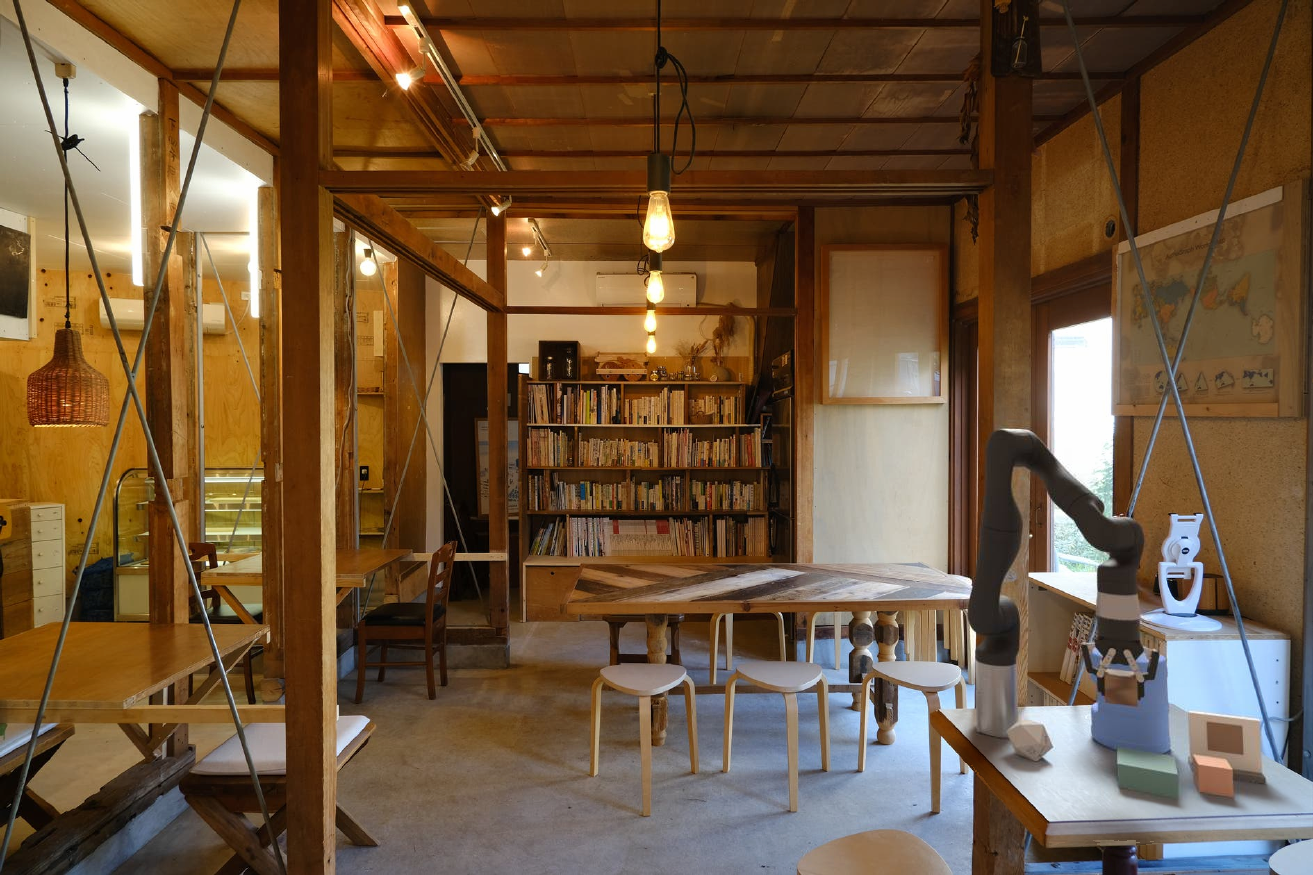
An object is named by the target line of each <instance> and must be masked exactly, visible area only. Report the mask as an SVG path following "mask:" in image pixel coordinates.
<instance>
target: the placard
mask: <svg viewBox="0 0 1313 875" xmlns="http://www.w3.org/2000/svg"><path fill="white" fill-rule="evenodd" d="M1187 712H1188V717H1187V718H1188V737H1189V738H1188V742H1189V756H1187V762H1188V764H1189V766H1190V768H1191V770H1192V771H1193V754H1194V755H1201V756H1208V757H1215V758H1222V759H1226V760H1227V762H1228V763H1229V765H1230V766H1231V768H1232V769H1233V780H1237V779H1240V780H1239V781H1244V780H1245V782H1250V781H1254V782H1253V783H1257V782H1259V783H1258V784H1264V783H1266V784H1267V779H1266V776H1265V775H1264V773H1263V764H1262V762H1263V761H1262V738H1261V736H1262V734H1261V720H1260V719H1259V718H1253V717H1244V716H1237V715H1236V716H1235V715H1230V714H1229V715H1228V714H1219V713H1212V712H1202V711H1194V710H1188V711H1187ZM1246 780H1247V781H1246Z"/></svg>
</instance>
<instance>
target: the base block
mask: <svg viewBox="0 0 1313 875" xmlns="http://www.w3.org/2000/svg"><path fill="white" fill-rule="evenodd" d="M1116 755H1117V756H1116V758H1117V759H1116V761H1117V781H1118V782H1117V785H1118V788H1123V789H1129V790H1132V791H1133V790H1134V791H1139V792H1144V793H1149V794H1154V795H1159V796H1163V797H1169V798H1175V799H1179V798H1180V797H1179V777H1178V776H1179V775H1178V770H1177V764H1176V761H1175V756H1174V755H1169V754H1166V753H1163V754H1159V753H1153V752H1147V751H1141V750H1135V749H1129V748H1123V747H1117V750H1116Z"/></svg>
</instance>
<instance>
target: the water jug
mask: <svg viewBox="0 0 1313 875" xmlns="http://www.w3.org/2000/svg"><path fill="white" fill-rule="evenodd" d="M1142 646H1143V647H1145V648H1148V649H1150V648H1149V647H1146V646H1145V645H1142ZM1159 654H1160V653H1159ZM1090 658H1091V662H1092V666H1093V667H1096V668H1098V665H1099V663H1100V661H1101V658H1102V655H1101V654H1100V652H1099V651H1098V650H1097V649H1096V648H1094V649H1093V653H1092V654H1090ZM1136 663H1137V665H1138V667H1139V669H1140V671H1141V673H1145V672H1147V668H1148V663H1149V660H1148V659H1147V658H1146V654H1145V653H1142V654H1141V655H1140V656H1139V658H1138V659H1137V660H1136ZM1167 664H1168V663H1167V658H1166V657H1165V656H1163V655H1162V654H1160V656H1159V661H1158V666H1157V671H1156V675H1155V679H1154V680H1147V681H1145V682H1144V693H1145V696H1144V698H1141V700H1138V707H1135V706H1127V705H1120V704H1112V703H1106V702H1105V697H1104V696H1102V695H1101V692H1098V690H1097V689H1096V691H1097V701H1096V702H1095V703H1093V704H1091V707H1090V715H1091V716H1090V717H1091V718H1090V719H1091V724H1090V733H1091V734H1090V735H1091V737H1092V738H1093V739H1094V740H1095V741H1096V742H1097V743H1099V744H1101V745H1102V746H1104V747H1107V748H1109V749H1113V750H1115V751H1117V747H1123V748H1129V749H1135V750H1141V751H1147V752H1153V753H1159V754H1166V753H1167V752H1168V751H1170V749H1171V737H1170V720H1169V719H1170V718H1169V714H1170V704H1169V693H1168V691H1169V689H1168V677H1169V676H1168V674H1169V672H1168V669H1169V668H1168V665H1167ZM1107 669H1114V670H1123V671H1132V672H1133V670H1132V668H1131V666H1130V665H1129V666H1126V665H1122V664H1111V663H1110V665H1109V667H1108V668H1107ZM1089 678H1090V680H1091V681H1092V682H1094V683H1095V686H1097V677H1096V675H1094V674H1092V673H1089Z"/></svg>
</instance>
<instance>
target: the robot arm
mask: <svg viewBox="0 0 1313 875" xmlns="http://www.w3.org/2000/svg"><path fill="white" fill-rule="evenodd" d="M987 439H988V440H987V441H986V446H985V457H984V458H985V460H984V461H985V463H984V464H985V465H984V466H985V479H984V482H985V484H984V497H983V506H982V507H983V509H982V515H981V521H980V522H981V523H980V531H979V537H978V538H979V540H978V542H979V544H978V550H977V557H976V565H975V571H974V572H975V573H974V578H973V582H972V586H971V591H970V595H969V598H968V599H969V600H968V603H967V609H966V610H967V612H966V616H967V621H968V624H969V626H970V629H972V631H973V632H975V633H976V634H977V635H980V636H982V637H983V636H985V637H984V639H983V640H982V642H981V643H980V644H979V645H978V646H976V647H975V650H974V653H975V654H974V655H975V657H974V658H975V660H974V661H975V684H976V685H975V686H976V687H975V688H976V690H975V713H976V714H975V715H976V718H975V719H976V732H977V733H980V734H981V733H982V734H985V735H987V736H991V737H996V738H1003V739H1004V738H1007V739H1009V737H1008V734H1007V732H1006V731H1007V730H1008V729H1010V728H1011V727H1012V726H1013V725H1014V724H1016V723H1017V722H1018V721H1019V705H1018V704H1019V703H1018V675H1017V674H1018V672H1017V657H1018V654H1019V651H1020V647H1021V646H1020V644H1021V641H1020V640H1021V616H1020V611H1019V608H1018V607H1017V606H1018V605H1017V604H1016V603H1015V601H1013V599H1012V598H1011V597H1009V596H1007V595H1003V594H1001V592H1002V586H1003V583H1004V581H1005V578H1006V576H1007V574H1008V573H1009V571H1010V569H1011V567H1012V565H1013V564H1014V562H1015V561H1016V558H1017V557H1018V554H1019V552H1020V550H1021V546H1022V536H1023V530H1024V521H1023V517H1022V513H1021V510H1020V509H1019V506H1018V504H1017V502H1016V499H1015V496H1014V494H1013V489H1012V484H1013V483H1012V481H1013V472H1014V468H1023V467H1024V468H1026V469H1027V470H1029V471H1031V472H1032V473H1034V474H1035V475H1036V476H1038V478H1040V480H1042V482H1043V484H1044V486H1045V488H1046V492H1047V494H1048V497H1049V498H1050V500H1051V501H1052V502H1053V504H1055V505H1056V507H1058V508H1059V510H1061V511H1062V512H1063V513H1064V514H1065V515H1066V516H1068V517H1069V518H1070V519H1071V520H1072V521H1073V522H1074V524H1075V525H1076V527H1077V529H1078V531H1079V532H1080V534H1081V535H1082V536H1083V538H1084V540H1085V541H1086V543H1087V544H1089V545H1090V546H1091V547H1092V548H1094V549H1096V550H1098V551H1099V552H1103V553H1109V557H1108V559H1107V560H1106V561H1104V562H1102V563H1101V564H1099V565H1098V566H1097V568H1096V600H1095V601H1096V602H1095V604H1096V605H1095V612H1096V639H1095V641H1094V642H1086V641H1082V642H1080V649H1081V654H1082V657H1083V660H1084V666H1085V668H1086V672H1087V673H1088V674H1090V673H1092V674H1094V675H1096V677H1097V685H1096V691H1097V690H1098V692H1101V695H1102V696H1105V681H1104V673H1105V672H1106V670H1107V668H1108V667H1109V665H1110V663H1111V664H1122V665H1126V666H1129V665H1130V666H1131V668H1132V670H1133V672H1134V674H1135V676H1136V678H1137V691H1138V700H1141V698H1144V696H1145V693H1144V682H1145V681H1147V680H1154V679H1155V675H1156V671H1157V666H1158V661H1159V656H1160V652H1159V650H1158V649H1157V648H1149V647H1146V646H1144V645H1143V644H1142V641H1141V640H1142V639H1141V611H1140V601H1139V596H1138V578H1137V574H1138V570H1139V567H1140V564H1141V560H1142V556H1143V553H1144V549H1145V548H1144V547H1145V539H1146V538H1145V532H1144V530H1143V528H1142V526H1141V524H1140V523H1139V522H1138V521H1137V520H1136V519H1134V518H1132V517H1127V516H1119V517H1118V516H1117V517H1116V516H1115V517H1107V516H1106V515H1104V513H1105V504H1104V502H1103V500H1101V499H1100V498H1099V497H1098V496H1097V495H1096V494H1095V493H1094V492H1092V490H1090V489H1089V488H1088V487H1087V486H1085V485H1084V484H1083V483H1081V482H1080V481H1079V480H1078V479H1077V478H1076V477H1074V476H1073V475H1072V473H1070V471H1068V469H1066V467H1065V466H1064V465H1063V464H1062V463H1061V462H1060V460H1058V458H1057V457H1056V456H1055V455H1054V454H1053V453H1052V452H1051V450H1050V449H1049V448H1048V447H1047V446H1046V444H1045V443H1044V442H1043V440H1041V439H1040V437H1038V435H1036V434H1035V433H1034V432H1033V431H1031V430H1028V429H1022V428H1019V429H1018V428H1017V429H1016V428H998V429H995V430H994V431H993V432H991V434H990V435H989V437H988V438H987ZM1143 646H1144V647H1143ZM1145 647H1146V648H1145ZM1094 648H1096V649H1097V650H1098V651H1099V652H1100V654H1101V655H1102V658H1101V661H1100V663H1099V665H1098V668H1096V667H1093V666H1092V662H1091V658H1090V654H1092V653H1093V649H1094ZM1148 648H1149V649H1148ZM1142 653H1145V654H1146V658H1147V659H1148V660H1149V663H1148V668H1147V672H1145V673H1141V671H1140V669H1139V667H1138V665H1137V663H1136V660H1137V659H1138V658H1139V656H1140V655H1141V654H1142Z"/></svg>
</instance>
